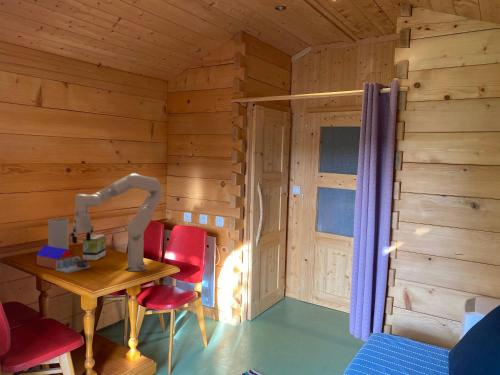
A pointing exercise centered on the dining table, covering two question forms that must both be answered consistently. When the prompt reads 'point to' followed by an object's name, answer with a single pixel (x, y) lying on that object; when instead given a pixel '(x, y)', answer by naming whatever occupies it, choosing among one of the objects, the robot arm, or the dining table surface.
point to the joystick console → (68, 265)
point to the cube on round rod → (81, 263)
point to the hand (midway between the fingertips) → (81, 241)
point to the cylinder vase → (58, 233)
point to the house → (52, 256)
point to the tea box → (94, 247)
